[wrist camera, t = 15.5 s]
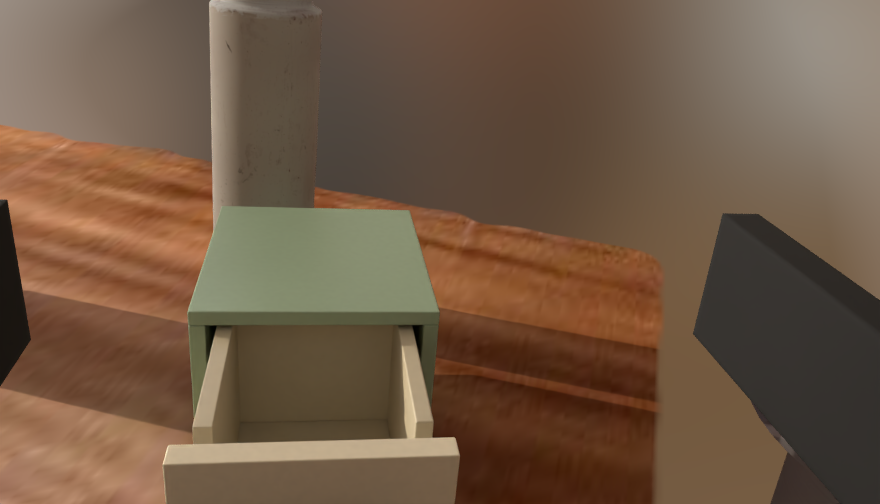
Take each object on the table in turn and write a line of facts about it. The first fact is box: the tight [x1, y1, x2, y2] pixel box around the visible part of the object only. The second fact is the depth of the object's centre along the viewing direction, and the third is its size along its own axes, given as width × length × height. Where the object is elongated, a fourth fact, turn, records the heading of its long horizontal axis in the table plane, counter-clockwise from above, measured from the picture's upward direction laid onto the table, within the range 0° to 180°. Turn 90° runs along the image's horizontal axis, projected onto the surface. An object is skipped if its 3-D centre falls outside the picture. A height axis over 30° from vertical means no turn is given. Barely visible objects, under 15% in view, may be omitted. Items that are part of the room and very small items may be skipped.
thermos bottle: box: [209, 0, 322, 230], centre depth 58 cm, size 8×8×28 cm
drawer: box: [163, 325, 460, 504], centre depth 35 cm, size 18×11×9 cm, turn 8°
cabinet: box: [187, 206, 440, 418], centre depth 47 cm, size 15×13×11 cm
